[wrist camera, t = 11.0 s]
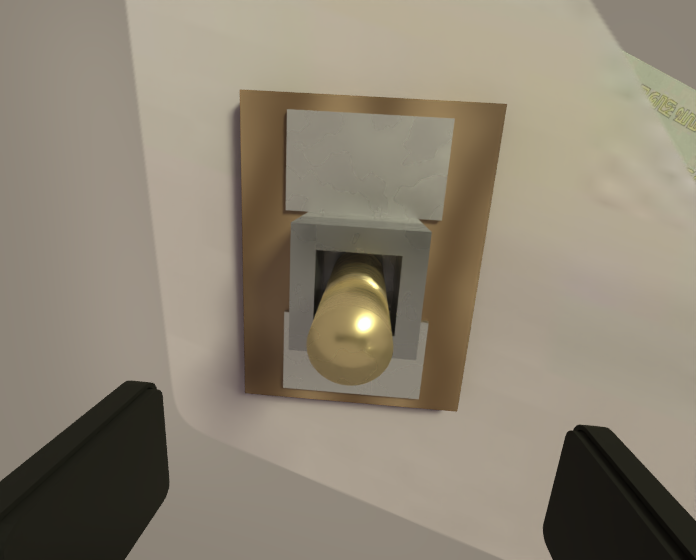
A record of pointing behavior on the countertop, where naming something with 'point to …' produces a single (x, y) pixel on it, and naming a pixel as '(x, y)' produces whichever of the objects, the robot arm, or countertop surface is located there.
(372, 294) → the hinge pin
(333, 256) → the grey stepped block
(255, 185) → the walnut board
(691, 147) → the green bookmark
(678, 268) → the countertop surface
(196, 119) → the countertop surface
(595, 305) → the countertop surface
